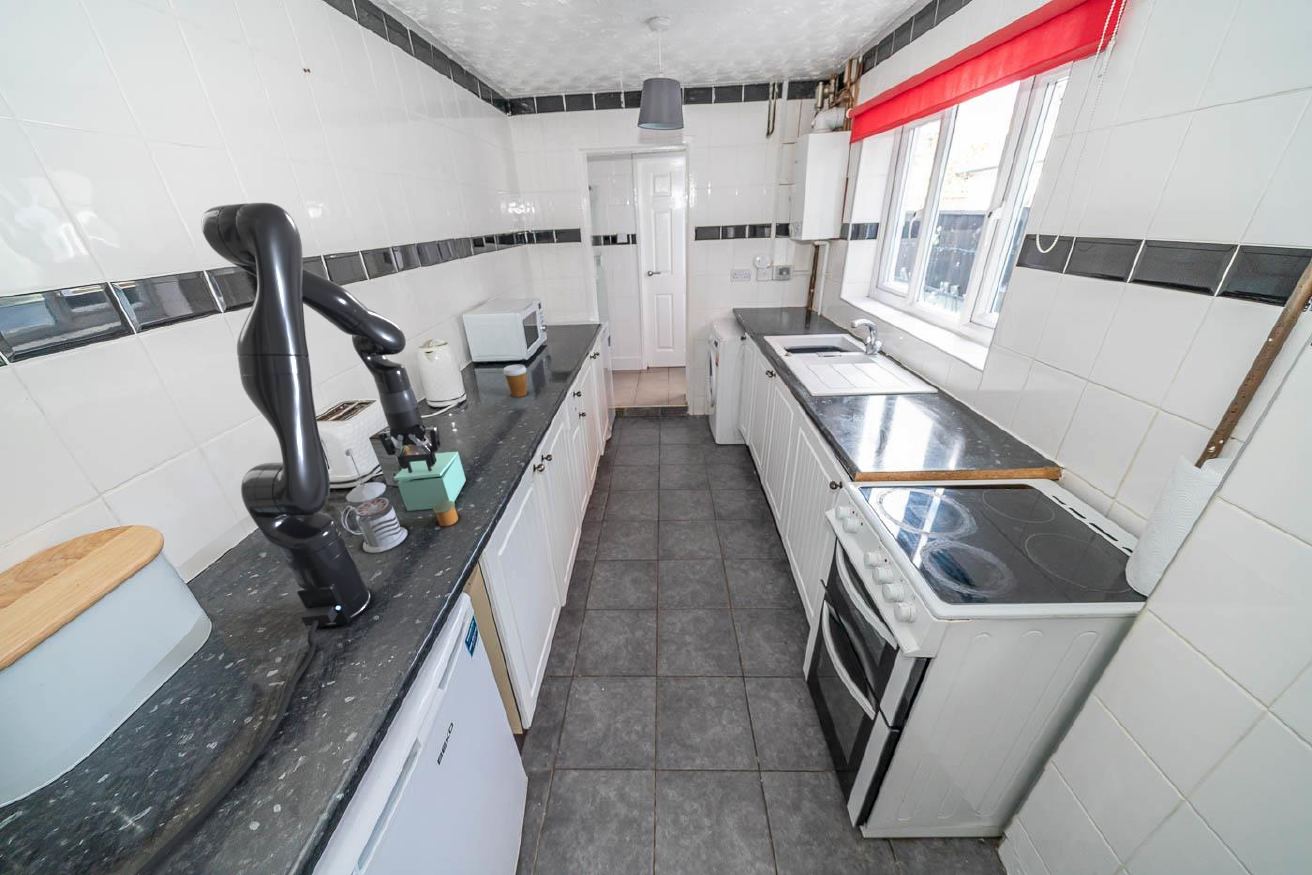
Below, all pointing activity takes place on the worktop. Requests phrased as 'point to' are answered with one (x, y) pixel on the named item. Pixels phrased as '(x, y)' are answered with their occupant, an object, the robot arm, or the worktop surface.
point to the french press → (376, 535)
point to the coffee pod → (446, 513)
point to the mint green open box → (433, 488)
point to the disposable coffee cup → (516, 379)
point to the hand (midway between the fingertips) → (419, 466)
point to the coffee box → (389, 457)
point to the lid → (425, 466)
